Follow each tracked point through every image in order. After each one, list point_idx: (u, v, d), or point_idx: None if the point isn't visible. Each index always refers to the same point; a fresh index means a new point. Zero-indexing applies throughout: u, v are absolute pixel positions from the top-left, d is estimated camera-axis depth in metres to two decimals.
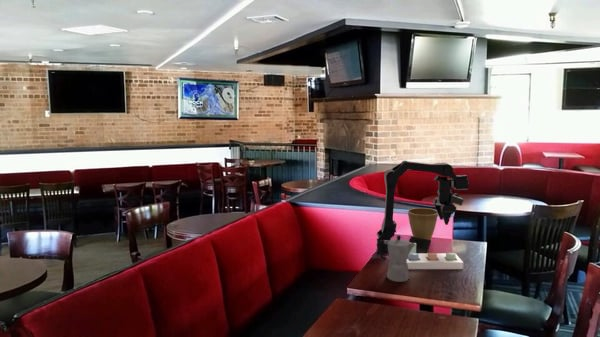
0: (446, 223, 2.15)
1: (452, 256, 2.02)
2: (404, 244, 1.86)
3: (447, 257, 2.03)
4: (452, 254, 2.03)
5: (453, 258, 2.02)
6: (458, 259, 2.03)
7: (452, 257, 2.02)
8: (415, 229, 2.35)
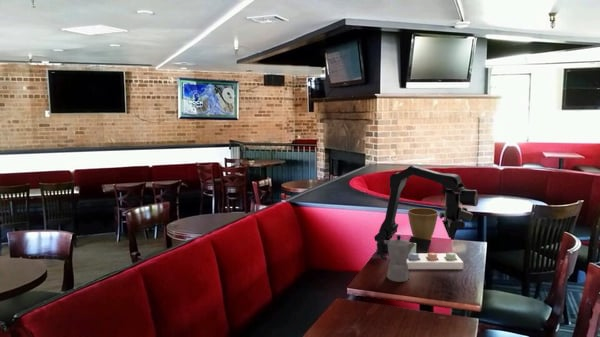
0: (452, 238, 2.01)
1: (452, 256, 2.02)
2: (404, 244, 1.86)
3: (447, 257, 2.03)
4: (452, 254, 2.03)
5: (453, 258, 2.02)
6: (458, 259, 2.03)
7: (452, 257, 2.02)
8: (415, 229, 2.35)
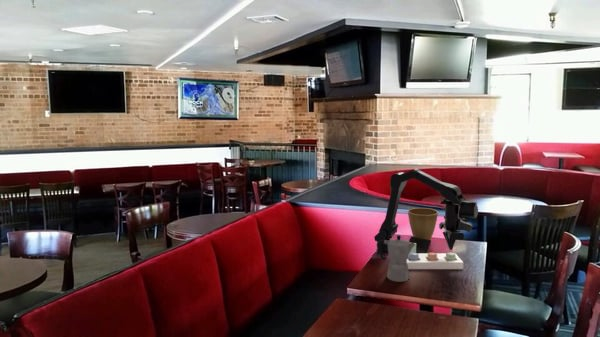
0: (450, 248, 2.03)
1: (452, 256, 2.02)
2: (404, 244, 1.86)
3: (447, 257, 2.03)
4: (452, 254, 2.03)
5: (453, 258, 2.02)
6: (458, 259, 2.03)
7: (452, 257, 2.02)
8: (415, 229, 2.35)
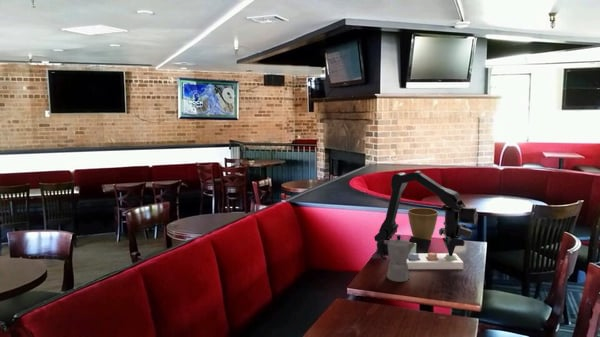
0: (450, 254, 2.03)
1: (452, 258, 2.02)
2: (404, 244, 1.86)
3: (447, 258, 2.03)
4: (452, 255, 2.03)
5: (453, 259, 2.02)
6: (458, 259, 2.03)
7: (452, 258, 2.02)
8: (415, 229, 2.35)
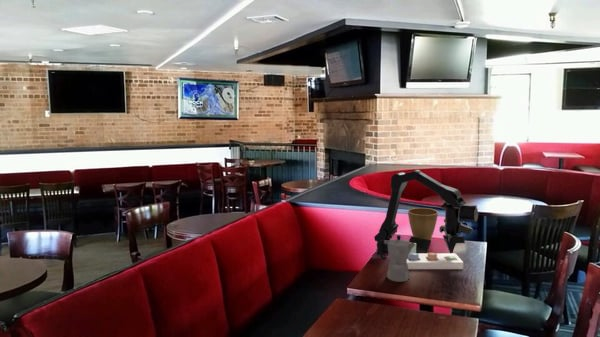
0: (451, 251, 2.03)
1: (452, 259, 2.02)
2: (404, 244, 1.86)
3: None
4: (452, 257, 2.03)
5: None
6: (458, 259, 2.03)
7: None
8: (415, 229, 2.35)
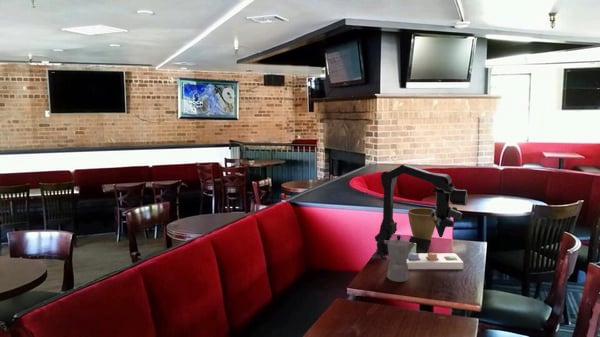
0: (440, 235, 2.07)
1: (452, 259, 2.02)
2: (404, 244, 1.86)
3: None
4: (452, 257, 2.03)
5: None
6: (458, 259, 2.03)
7: None
8: (415, 229, 2.35)
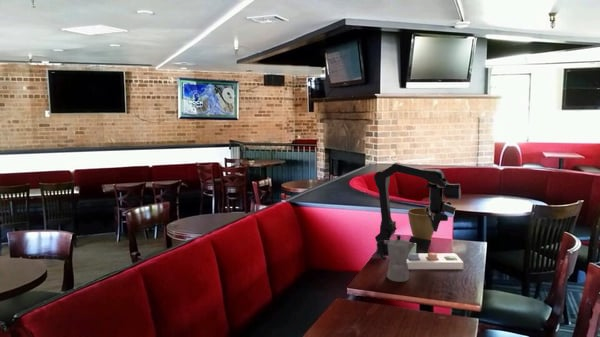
0: (435, 230, 2.10)
1: (452, 259, 2.02)
2: (404, 244, 1.86)
3: None
4: (452, 257, 2.03)
5: None
6: (458, 259, 2.03)
7: None
8: (415, 229, 2.35)
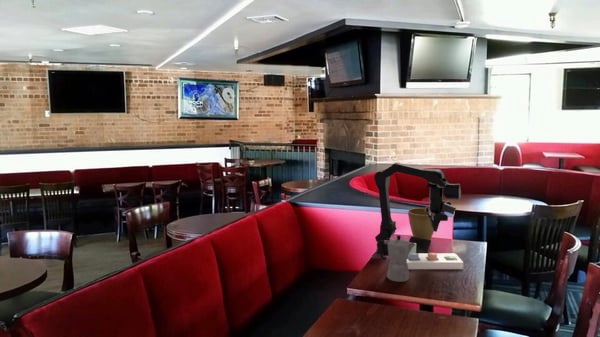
0: (435, 230, 2.10)
1: (452, 259, 2.02)
2: (404, 244, 1.86)
3: None
4: (452, 257, 2.03)
5: None
6: (458, 259, 2.03)
7: None
8: (415, 229, 2.35)
